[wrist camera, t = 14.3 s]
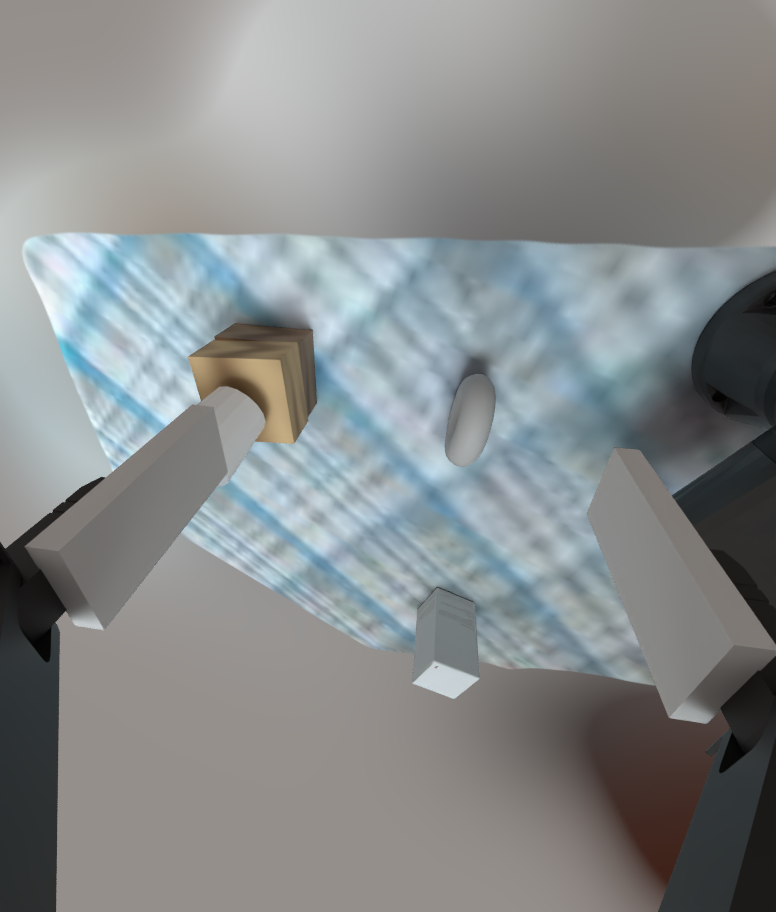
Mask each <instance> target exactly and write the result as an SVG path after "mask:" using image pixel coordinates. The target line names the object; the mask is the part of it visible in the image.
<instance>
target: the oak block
mask: <svg viewBox="0 0 776 912" xmlns="http://www.w3.org/2000/svg"><path fill="white" fill-rule="evenodd" d="M188 358H189V361H190V365H191V368H192V372H193V375H194V378H195V382H196V385H197V389H198V392H199V395H200V399H201V401H202V400H203V399H205V398H206V397H207V396H208V395H210V394H211V393H212V392H213V391H215V390H216V389H217V388H218V387H224V386H228V387H231V388H234V389H237V390H239V391H240V392H242V393H244V394H245V395H247V396H248V397H249V398H250V399H252V400H253V401H254V402H255V403H256V404H257V405H258V407H259V408H260V410H261V411H262V412H263V414H264V418H265V421H266V422H265V426H264V429H263V430H262V432H261V433H260V435H259V436H258V438H257V439H256V441H257V442H274V443H291V444H294V443H295V441H296V440H297V438H298V437H299V435H300V433H301V432H302V430H303V428H304V427H305V425H306V424H307V422H308V415H307V408H306V400H305V393H304V386H303V379H302V372H301V365H300V357H299V350H298V343H297V342H270V341H235V340H213V341H211V342H210V343H208V344H207V345H205V346H204V347H202V348H201V349H199V350H198V351H196V352H195V353H193V354H191V355H190V356H188Z"/></svg>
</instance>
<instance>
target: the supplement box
mask: <svg viewBox="0 0 776 912" xmlns="http://www.w3.org/2000/svg"><path fill="white" fill-rule="evenodd" d="M478 664H479V663H478V646H477V630H476V615H475V603H474V602H471V601H468V600H466V599H464V598H461V597H459V596H456V595H454V594H452V593H449V592H447V591H444V590H442V589H440V588H436V589H435V590H434V592H433V593H432V594H431V595H430V596H429V597H428V598H427V599H426V601H425V602H424V603H423V604H422V605H421V606H420V607H419V609H418V610H417V623H416V637H415V650H414V664H413V678H412V683H413V684H415V685H418V686H421V687H424V688H426V689H429V690H432V691H434V692H437V693H440V694H442V695H445V696H447V697H450V698H453V699H454V698H456V697H457V696H458V695H460V694H461V693H462V692H463V691H465V690H466V689H467V688H468V687H470V686H471V685H472V684H473V683H475V682H476V681H477V680H479V679H480V676H479V665H478Z"/></svg>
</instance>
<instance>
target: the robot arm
mask: <svg viewBox="0 0 776 912" xmlns="http://www.w3.org/2000/svg"><path fill="white" fill-rule="evenodd" d="M692 377H693V381H694V384H695V387H696V389H697V391H698V393H699V394H700V395H701V397H702V398H703V399H704V400H705V401H706V402H708V403H709V404H710V405H711V406H712V407H713V408H715V409H716V410H717V411H718V412H720V413H721V414H723V415H725V416H727V417H729V418H731V419H734V420H736V421H740V422H744V423H747V424H751V425H755V426H759V427H762V428H766V429H769V430H767V431H766V432H765V433H763V434H762V435H760V436H759V437H757V438H756V439H755V440H753V441H751V442H750V443H748V444H747V445H745V446H744V447H742V448H741V449H739V450H738V451H737V452H735V453H734V454H732V455H731V456H729V457H728V458H727V459H725V460H724V461H722V462H721V463H719V464H718V465H716V466H715V467H713V468H712V469H710V470H709V471H707V472H706V473H704V474H703V475H701V476H700V477H699V478H697V479H696V480H694V481H693V482H691V483H690V484H688V485H687V486H685V487H684V488H682V489H681V490H679V491H678V492H676V493H675V494H673V495H671V494H670V493H669V491H668V490H667V488H666V487H665V485H664V484H663V483H662V481H661V480H660V478H659V477H658V475H657V474H656V473H655V471H654V470H653V468H652V467H651V465H650V464H649V463H648V461H647V460H646V458H645V457H644V455H643V454H642V453H641V451H640V450H635V449H625V448H615V447H614V449H613V451H612V454H611V456H610V459H609V461H608V463H607V466H606V468H605V471H604V473H603V476H602V478H601V480H600V483H599V485H598V488H597V490H596V492H595V495H594V497H593V500H592V502H591V504H590V507H589V509H588V512H587V516H588V518H589V521H590V523H591V526H592V528H593V531H594V533H595V535H596V538H597V540H598V543H599V545H600V548H601V550H602V553H603V555H604V558H605V560H606V563H607V565H608V568H609V570H610V573H611V575H612V578H613V580H614V583H615V585H616V588H617V590H618V593H619V595H620V597H621V600H622V602H623V605H624V607H625V610H626V612H627V615H628V617H629V620H630V622H631V625H632V627H633V630H634V632H635V635H636V637H637V640H638V642H639V645H640V647H641V650H642V652H643V654H644V657H645V659H646V662H647V664H648V667H649V669H650V672H651V674H652V677H653V679H654V682H655V684H656V687H657V689H658V692H659V694H660V696H661V699H662V701H663V704H664V707H665V709H666V712H667V714H668V716H669V718H673V719H680V720H687V721H693V722H699V723H706V724H707V723H708V722H709V721H710V720H711V719H712V718H713V717H714V716H715V715H716V714H717V713H718V712H719V711H720V710H722V713H723V714H724V716H725V718H726V720H727V722H728V724H729V726H730V729H729V730H728V731H727V732H725V733H724V734H723V735H722V736H721V737H720V738H719V739H718V740H717V741H715V742H714V743H713V744H712V745H711V746H710V747H709V748H708V749H707V751H706V753H707V754H708V755H710V756H712V755H713V754H715V753H716V752H717V753H716V756H715V759H714V761H713V764H712V766H711V769H710V772H709V775H708V777H707V780H706V783H705V786H704V788H703V791H702V794H701V797H700V799H699V802H698V805H697V807H696V810H695V813H694V815H693V818H692V821H691V824H690V826H689V829H688V832H687V834H686V837H685V840H684V843H683V845H682V848H681V851H680V853H679V856H678V859H677V862H676V864H675V867H674V870H673V873H672V875H671V878H670V881H669V883H668V886H667V889H666V892H665V894H664V897H663V900H662V902H661V905H660V908H659V911H658V912H776V272H774V273H771V274H769V275H767V276H765V277H763V278H761V279H759V280H757V281H756V282H754V283H752V284H751V285H749V286H748V287H746V288H745V289H743V290H742V291H740V292H739V293H738V294H737V295H735V296H734V297H733V298H732V299H730V300H729V301H728V302H727V303H726V304H725V305H724V306H723V307H722V308H721V309H720V310H719V311H718V312H717V313H716V315H715V316H714V317H713V318H712V319H711V321H710V322H709V323H708V325H707V326H706V328H705V329H704V331H703V333H702V335H701V336H700V338H699V341H698V343H697V345H696V348H695V351H694V355H693V360H692ZM227 473H228V470H227V465H226V461H225V456H224V452H223V447H222V443H221V438H220V434H219V429H218V424H217V420H216V415H215V411H214V407H210V406H200V405H191V406H190V407H189V408H188V409H187V410H185V411H184V412H183V413H182V414H181V415H179V416H178V417H177V418H176V419H175V420H174V421H172V422H171V423H170V424H169V425H168V426H166V427H165V428H164V429H163V430H162V431H161V432H159V433H158V434H157V435H156V436H155V437H153V438H152V439H151V440H150V441H149V442H148V443H146V444H145V445H144V446H143V447H142V448H140V449H139V450H138V451H137V452H136V453H135V454H133V455H132V456H131V457H130V458H129V459H127V460H126V461H125V462H124V463H123V464H122V465H120V466H119V467H118V468H117V469H116V470H114V471H113V472H112V473H111V474H110V475H109V476H107V477H106V478H105V477H100V478H98V479H97V480H94V481H92V482H90V483H88V484H87V485H85V486H82V487H81V488H79V490H77V491H76V492H75V493H73V494H72V495H71V496H70V497H69V498H67V499H66V502H65V503H64V502H63V503H61V504H60V505H59V506H57V507H56V508H55V509H54V510H53V512H52V513H49V514H48V515H47V516H45V517H44V518H43V519H41V520H40V521H39V522H38V523H37V524H35V525H34V526H33V527H32V528H30V529H29V530H28V531H27V532H26V533H24V534H23V535H22V536H21V537H20V538H18V539H17V540H16V541H14V542H13V543H12V544H11V545H9V546H8V547H7V548H6V549H5V548H4V547H3V545H2V544H1V542H0V912H56V873H57V872H56V871H57V799H58V795H57V794H58V726H59V723H58V722H59V652H60V651H59V650H60V649H59V648H60V647H59V646H60V632H59V629H58V626H57V624H56V623H55V622H56V621H57V620H58V619H59V618H60V616H61V615H62V614H63V613H64V612H65V611H66V612H67V613H68V614H69V616H70V618H71V620H72V621H73V623H74V624H75V626H80V627H87V628H93V629H100V630H105V629H106V627H107V626H108V625H109V623H110V622H111V621H112V620H113V619H114V617H115V616H116V615H117V613H118V612H119V611H120V610H121V608H122V607H123V606H124V605H125V603H126V602H127V601H128V599H129V598H130V597H131V595H132V594H133V593H134V592H135V590H136V589H137V588H138V587H139V585H140V584H141V583H142V581H143V580H144V579H145V578H146V576H147V575H148V574H149V572H150V571H151V570H152V569H153V567H154V566H155V565H156V564H157V562H158V561H159V560H160V558H161V557H162V556H163V555H164V553H165V552H166V551H167V550H168V548H169V547H170V546H171V544H172V543H173V542H174V541H175V539H176V538H177V537H178V535H179V534H180V533H181V532H182V530H183V529H184V528H185V527H186V525H187V524H188V523H189V521H190V520H191V519H192V518H193V516H194V515H195V514H196V512H197V511H198V510H199V509H200V507H201V506H202V505H203V504H204V502H205V501H206V500H207V498H208V497H209V496H210V495H211V493H212V492H213V491H214V489H215V488H216V487H217V486H218V484H219V483H220V482H221V481H222V479H223V478H224V477H225V475H226V474H227Z"/></svg>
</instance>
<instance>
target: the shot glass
mask: <svg viewBox="0 0 776 912" xmlns="http://www.w3.org/2000/svg"><path fill="white" fill-rule="evenodd" d="M197 405H200V406H210V407H214V411H215V415H216V420H217V424H218V429H219V434H220V438H221V443H222V447H223V452H224V456H225V461H226V465H227V470H228V473H227V474H226V475H225V477H224V478H223V479H222V481H221V482H220V483H219V484H218V486H221V487H222V486H224V485H226V484H228V482H229V481H230V479H231V478H232V476H233V475H234V473H235V472H236V470H237V468H238V467H239V465H240V464H241V462H242V461H243V459H244V458H245V456H246V455H247V453H248V452H249V450H250V448H251V447H252V445H253V444H254V442H255V441H256V439H257V438H258V436H259V435H260V433H261V432H262V430H263V429H264V426H265V422H266V421H265V418H264V414H263V412H262V411H261V410H260V408H259V407H258V405H257V404H256V403H255V402H254V401H253V400H252V399H250V398H249V397H248V396H247V395H245V394H244V393H242V392H240V391H239V390H237V389H234V388H231V387H228V386H224V387H218V388H217V389H216V390H215V391H213V392H212V393H211V394H210V395H208V396H207V397H206V398H205V399H203V400H202V401H201V402H200V403H198V404H197Z"/></svg>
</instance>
